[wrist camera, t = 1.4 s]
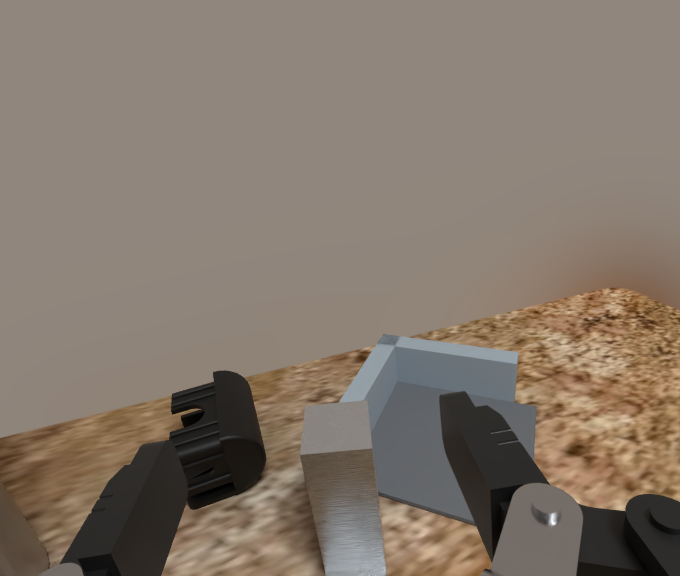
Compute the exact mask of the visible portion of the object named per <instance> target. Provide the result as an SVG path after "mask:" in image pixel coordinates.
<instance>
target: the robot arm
mask: <svg viewBox="0 0 680 576" xmlns="http://www.w3.org/2000/svg"><path fill="white" fill-rule="evenodd" d="M439 405H440V417H441V429H442V439H443V445H444V449H445V453H446V456H447V459H448V461H449V463H450V466H451V468H452V470H453V473H454V475H455V477H456V480H457V482H458V484H459V487H460V489H461V491H462V494H463V496H464V498H465V501H466V503H467V505H468V508H469V510H470V513H471V515H472V517H473V520H474V522H475V524H476V527H477V529H478V531H479V534H480V536H481V538H482V541H483V543H484V545H485V548H486V550H487V552H488V555H489V557H490V559H491V562H492V565H491V567H490V569H489V570H488V569H484V571H483V572H482V574H481V576H680V502H679V501H676V500H674V499H671V498H668V497H665V496H661V495H655V494H643V495H638V496H635V497H633V498H632V499H630V500H629V502H628V503H627V505H626V510H625V511H618V510H609V509H600V508H593V507H587V506H584V505H580V504H578V503H577V502H576V501H575V500H574V499H573V497H571V496H570V495H569V494H568V493H566V492H565V491H563V490H561V489H559V488H557V487H555V486H552V485H550V484H549V483H548V481H547V480H546V478H545V477H544V475H543V474H542V472H541V471H540V470H539V468H538V467H537V465H536V464H535V462H534V461H533V459H532V458H531V457H530V455H529V454H528V452H527V451H526V449H525V448H524V446H523V445H522V444H521V442H519V440H518V438H517V436H516V435H515V433H514V432H513V431H511V428H510V426H509V425H508V423H507V422H506V420H505V419H504V418H503V416H502V415H501V414H499V413H498V412H496V411H495V410H494V409H492V408H491V407H489V406H488V405H484V406H478V407H475V405H474V404H473V402H472V401H471V399H470V397H469V396H468V394H467V393H466V392H465V391H460V392H454V393H448V394H442V395H440V396H439ZM187 496H188V485H187V479H186V476H185V474H184V471H183V468H182V465H181V463H180V460H179V457H178V454H177V452H176V449H175V446H174V444H173V442H172V441H171V440H165V441H159V442H153V443H147V444H143V445H142V446H141V447H140V448H139V450H138V452H137V454H136V455H135V457H134V459H133V461H132V462H131V464H130V465H125V466H124V467H123V468H122V469H121V470H120V471H118V472H117V473H116V474H115V475H114V476H113V477H112V478H111V479H110V480H109V482H108V483H107V485H106V487H105V488H104V490H103V492H102V494H101V495H100V499H99V500H97V502H96V504H95V505H94V507H93V509H92V510H91V511H92V513H91V514H89V515H88V517H87V519H86V520H85V522H84V524H83V525H82V527H81V529H80V531H79V532H78V534H77V536H76V537H75V539H74V541H73V542H72V544H71V546H70V547H69V549H68V551H67V552H66V554H65V556H64V557H63V559H62V561H61V562H60V564H59V565H57V566H54V567H52V568H50V569H48V567H49V560H48V555H47V552H46V551H45V549H44V548H43V546H42V544H41V543H40V541H39V540H38V538H37V537H36V535H35V533H34V532H33V530H32V529H31V527H30V526H29V524H28V523H27V521H26V519H25V517H24V516H23V514H22V513H21V511H20V509H19V508H18V506H17V505H16V503H15V502H14V500H13V499H12V497H11V496H10V494H9V492H8V491H7V489H6V488H5V486H4V485H3V483H2V482H1V480H0V576H161V574H162V571H163V568H164V566H165V563H166V560H167V557H168V554H169V551H170V548H171V545H172V542H173V540H174V537H175V534H176V531H177V528H178V525H179V522H180V519H181V516H182V514H183V511H184V508H185V505H186V502H187Z"/></svg>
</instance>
